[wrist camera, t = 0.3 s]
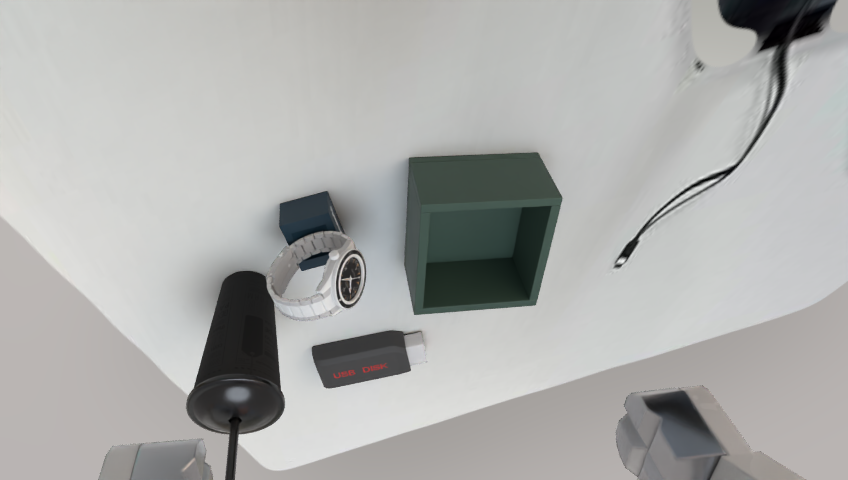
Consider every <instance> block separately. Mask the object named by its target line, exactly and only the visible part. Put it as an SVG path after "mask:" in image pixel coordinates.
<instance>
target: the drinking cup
mask: <svg viewBox="0 0 848 480" xmlns="http://www.w3.org/2000/svg"><path fill="white" fill-rule="evenodd" d="M284 408H285V398H284V395H283V393H282V391H281V386H280V373H279V361H278V349H277V336H276V324H275V311H274V301H273V299H272V297H271V296H270V294H269V292H268V290H267V281H266V277H265V276H263V275H261V274H259V273H255V272H250V271H243V272H237V273H234V274H232V275H230V276H229V277H227V278H226V279H225V280H224V282H223V284H222V287H221V290H220V294H219V298H218V301H217V305H216V309H215V312H214V316H213V320H212V323H211V327H210V331H209V334H208V338H207V342H206V345H205V349H204V353H203V356H202V360H201V364H200V367H199V371H198V375H197V378H196V382H195V386H194V389H193V390H192V391H191V393H190V394H189V396H188V399H187V404H186V409H187V413H188V415H189V417H190V418H191V419H192V421H194V422H195V423H196V424H197V425H199V426H200V427H202V428H204V429H207V430H209V431H212V432H216V433H221V434H229V445H228V446H229V447H228V455H227V466H226V476H225V480H235V471H236V459H237V446H238V434H247V433H252V432H256V431H259V430H262V429H264V428H267V427H269V426H270V425H272V424H273V423H275V422H276V421H277V420H278V419H279V418H280V417H281V415H282V413H283V411H284Z"/></svg>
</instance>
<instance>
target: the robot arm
mask: <svg viewBox="0 0 848 480" xmlns="http://www.w3.org/2000/svg"><path fill="white" fill-rule="evenodd" d="M624 407H625V409H626V411H627V414H626V415H625V416H624V417H623V418H621V420H619V422H618V426H617V430H616V442H617V448H618V451H619V455H620V457H621V459H622V462H623V464H624V466H625V468H626V469H628V470H629V471H630V472H632V473H633V474H634V475H636V476H637V477H638V479H637V480H805V479H804V478H802V477H801V476H799V475H797V474H796V473H794V472H793V471H791V470H789V469H788V468H786V467H785V466H783V465H781V464H780V463H778V462H777V461H775V460H773V459H772V458H770V457H769V456H767V455H765V454H764V453H762V452H761V451H760V452H753V451H752V449H751V448H750V446H749V445H748V444H747V442H746V441H745V439H744V438H743V437H742V435H741V434H740V432H739V431H738V430H737V428H736V427H735V425H734V424H733V423H732V421H731V420H730V419H729V417H728V416H727V414H726V413H725V412H724V411H723V409H722V407H721V406H720V405H719V403H718V402H717V400H716V399H715V398H714V396H713V395H712V394H711V392H710V391H709V390H708V389H707V388H705V387H704V386H692V387H682V388H669V389H660V390H652V391H644V392H635V393H631V394H630V395H628V397H627V398H626V401H625V404H624ZM205 456H206V448H205V444H204V441H203V439H191V440H179V441H166V442H153V443H141V444H130V445H119V446H112V447H111V448H110V450H109V452H108V453H107V454H106V457H105V460H104V463H103V466H102V469H101V472H100V476H99V479H98V480H213V474H212V470H211V466H210V465H208V464H207V463H205Z"/></svg>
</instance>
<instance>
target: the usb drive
mask: <svg viewBox="0 0 848 480" xmlns="http://www.w3.org/2000/svg"><path fill="white" fill-rule="evenodd" d="M312 355H313V359H314V363H315V365H316V368H317V370H318V373H319V375H320V378H321V380H322V383H323V385H324V387H325V388H335V387H340V386H345V385H350V384H355V383H359V382H364V381H369V380H374V379H379V378H383V377H388V376H393V375H398V374H402V373H405V372H409V371H411V368H410V366H411V365H416V364H421V363H426V362H427V357H426V352H425V347H424V342H423V337H422V332H419V333H414V334H409V335H404V334H403V332H399V331H386V332H382V333H377V334H372V335H367V336H362V337H357V338H352V339H347V340H343V341H338V342H333V343H328V344H323V345H318V346H314V347H312Z"/></svg>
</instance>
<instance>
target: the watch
mask: <svg viewBox="0 0 848 480" xmlns="http://www.w3.org/2000/svg"><path fill="white" fill-rule="evenodd" d="M279 227H280V229H281V231H282V233H283V235H284V237H285V239H286V241H287V243H288V245H289V247H287V246H286V247H285V248H284V249H283V250H282V251H281V253H280V254H279V255H278V257H277V258H276V259H275V261H274V262H273V264H272V266H271V268H270V270H269V272H268V274H267V276H266V281H267V290H268V292H269V294H270V296H271V297H272V299H273V301H274V303H275V304H276V306H277V308H278V309H279V311H280V312H281V313H282V314H283V315H285V316H287V317H289V318H291V319H294V320H299V321H312V320H318V319H320V318H325V317H328V316H331V317H332V316H334V315H336V314H338V313H340V312H341V311H343V310H344V309H346V310H347V309H351V308H353V307H354V306H355V305H356V304H357V302H358V301H359V299H360V297H361V295H362V293H363V290H364V286H365V281H366V265H365V260H364V257H363V255H362V253H361V252H360V251H359V250H357V249H356V247H355V244H354V242H353V240H352V239H351V238H349V236H347V235H345V233H344V231H343V228H342V226H341V224H340V221H339V219H338V216H337V214H336V211H335V209H334V206H333V204H332V201H331V199H330V197H329V194H328V192H327V191H326V192H322V193H318V194H315V195H311V196H307V197H304V198H300V199H296V200H293V201H289V202H285V203H282V204H280V220H279ZM323 265H326V266H325V270H324V273H323V279H322V281H321V282H320V284H319V285H318V287H317V289H316V292H317V293H319V294H317V295H314V296H312V297H311V299H310V297H308V298H304V299H301V300H299V299H296V300H289V299H285V298H282V294H283V293H284V292H285V290H286V287H287V285H288V283H289V281H290V280H291V278H292V277H293V275H294V274H295V272H296V271H297V270H298V269H299V267H300V269H301V271H304V270H308V269H311V268H315V267H319V266H323Z"/></svg>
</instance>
